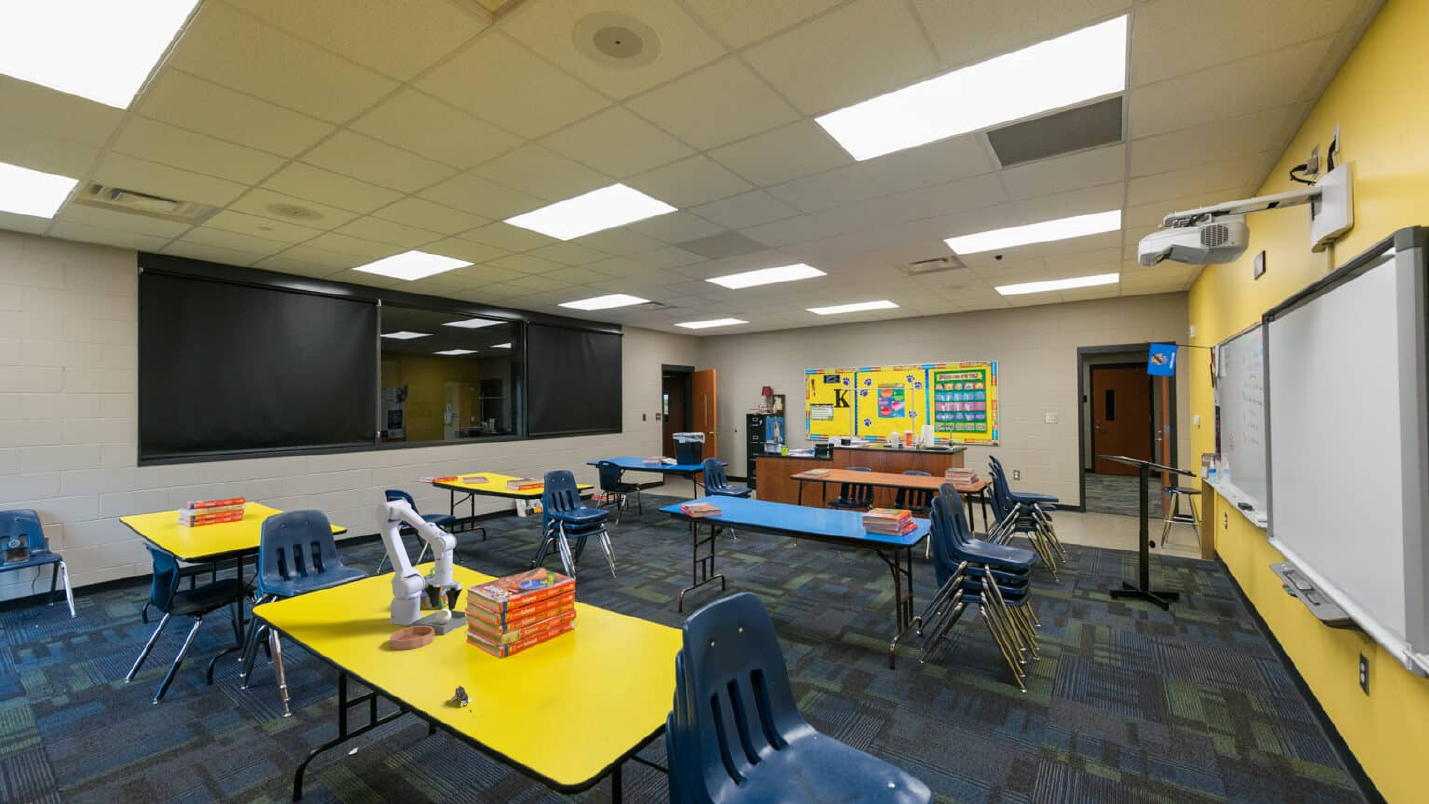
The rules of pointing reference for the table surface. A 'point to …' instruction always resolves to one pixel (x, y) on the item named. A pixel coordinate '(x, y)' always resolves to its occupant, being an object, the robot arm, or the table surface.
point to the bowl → (412, 637)
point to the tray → (430, 620)
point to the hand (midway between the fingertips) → (443, 608)
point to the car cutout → (461, 696)
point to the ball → (443, 616)
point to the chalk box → (425, 599)
